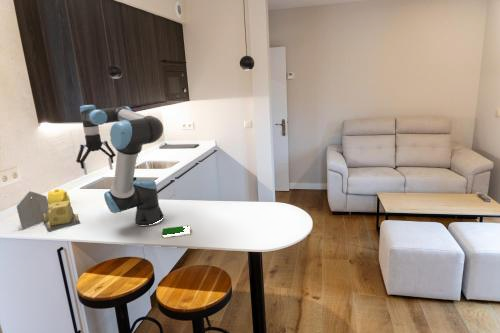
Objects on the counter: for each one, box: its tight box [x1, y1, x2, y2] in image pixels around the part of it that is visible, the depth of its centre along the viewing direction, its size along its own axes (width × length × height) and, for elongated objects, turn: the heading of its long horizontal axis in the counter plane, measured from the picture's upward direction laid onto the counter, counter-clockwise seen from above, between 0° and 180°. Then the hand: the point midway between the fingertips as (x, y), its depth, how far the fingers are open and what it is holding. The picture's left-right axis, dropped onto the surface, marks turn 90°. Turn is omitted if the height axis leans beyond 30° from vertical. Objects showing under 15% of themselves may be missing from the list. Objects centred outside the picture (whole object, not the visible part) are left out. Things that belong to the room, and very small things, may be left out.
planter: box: [16, 190, 49, 231], centre depth 190 cm, size 16×8×19 cm, turn 152°
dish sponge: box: [161, 225, 189, 236], centre depth 170 cm, size 7×14×2 cm, turn 99°
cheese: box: [48, 200, 73, 226], centre depth 189 cm, size 10×11×10 cm
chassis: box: [42, 206, 81, 233], centre depth 190 cm, size 16×16×5 cm
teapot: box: [47, 188, 71, 205], centre depth 217 cm, size 18×11×11 cm, turn 64°
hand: (98, 171), depth 190 cm, fingers open, 13 cm apart
